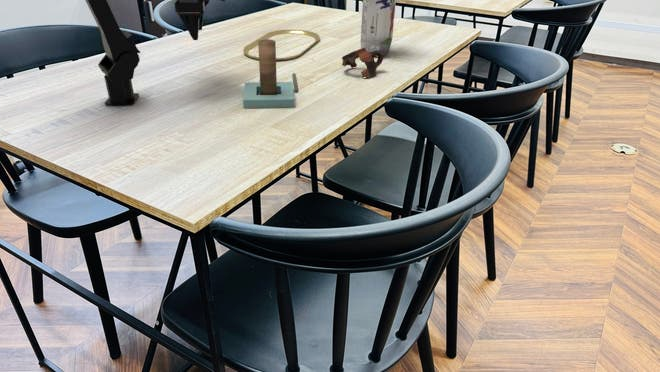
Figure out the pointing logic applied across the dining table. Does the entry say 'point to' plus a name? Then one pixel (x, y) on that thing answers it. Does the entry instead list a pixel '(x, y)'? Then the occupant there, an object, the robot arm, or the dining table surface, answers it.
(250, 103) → the square ring
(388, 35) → the juice carton
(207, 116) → the dining table surface
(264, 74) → the dowel
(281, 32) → the gold oval loop
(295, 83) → the grey thin rod
